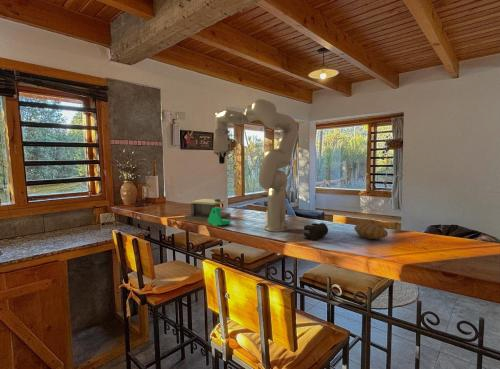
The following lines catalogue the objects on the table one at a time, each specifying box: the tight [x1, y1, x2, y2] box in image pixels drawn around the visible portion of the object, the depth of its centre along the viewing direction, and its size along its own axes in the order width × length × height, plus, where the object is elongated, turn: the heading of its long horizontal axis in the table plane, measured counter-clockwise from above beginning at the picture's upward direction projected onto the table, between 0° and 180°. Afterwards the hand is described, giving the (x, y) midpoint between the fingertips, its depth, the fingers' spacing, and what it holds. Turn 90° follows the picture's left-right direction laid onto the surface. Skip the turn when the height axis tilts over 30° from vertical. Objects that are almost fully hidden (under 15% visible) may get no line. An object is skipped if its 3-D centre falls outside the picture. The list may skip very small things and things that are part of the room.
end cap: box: [303, 222, 329, 242], centre depth 130 cm, size 10×7×7 cm
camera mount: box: [207, 206, 231, 227], centre depth 162 cm, size 12×8×10 cm, turn 46°
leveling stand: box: [184, 202, 231, 222], centre depth 183 cm, size 22×20×10 cm
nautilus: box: [353, 219, 389, 241], centre depth 132 cm, size 8×22×15 cm
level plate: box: [190, 198, 226, 206], centre depth 182 cm, size 17×14×2 cm
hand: (221, 163), depth 170 cm, fingers closed
